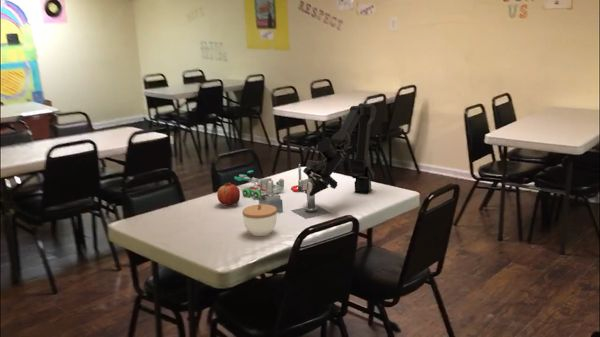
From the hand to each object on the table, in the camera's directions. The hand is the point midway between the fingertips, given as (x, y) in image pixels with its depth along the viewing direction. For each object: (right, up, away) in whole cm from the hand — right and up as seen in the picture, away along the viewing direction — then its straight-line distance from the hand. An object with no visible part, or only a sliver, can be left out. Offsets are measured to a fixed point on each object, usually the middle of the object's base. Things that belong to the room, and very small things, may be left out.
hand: (307, 194), depth 237 cm
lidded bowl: (-18, -14, -19) cm, 29 cm away
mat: (+1, -7, +2) cm, 8 cm away
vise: (-15, -7, +7) cm, 18 cm away
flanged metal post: (+1, -6, +2) cm, 7 cm away
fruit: (-33, -6, +15) cm, 37 cm away
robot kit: (-23, -1, +34) cm, 41 cm away
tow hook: (-3, +1, +34) cm, 35 cm away
